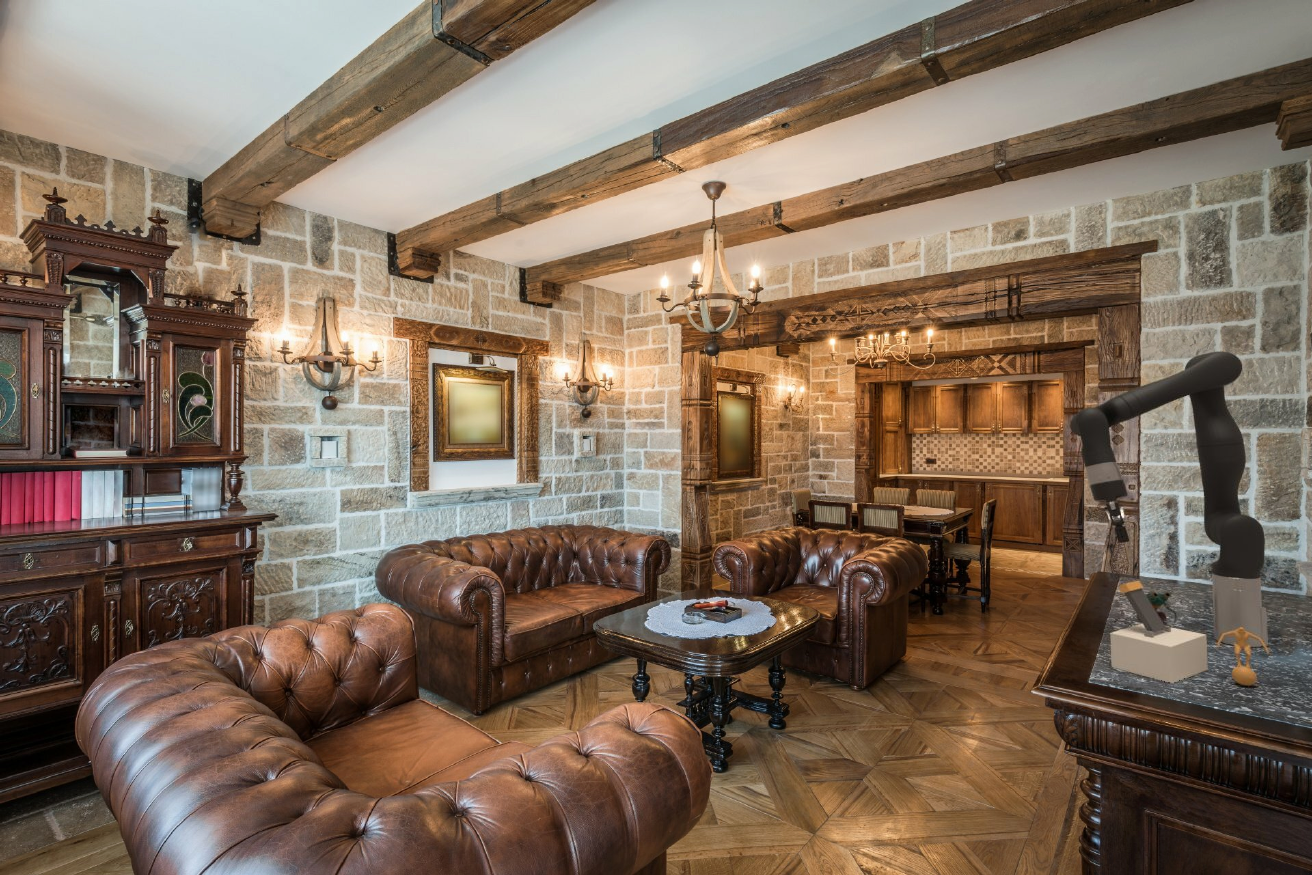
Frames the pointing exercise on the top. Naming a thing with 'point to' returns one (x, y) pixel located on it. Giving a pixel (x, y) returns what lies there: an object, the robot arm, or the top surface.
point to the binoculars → (1159, 604)
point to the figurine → (1245, 673)
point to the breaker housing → (1159, 652)
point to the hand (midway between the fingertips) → (1124, 542)
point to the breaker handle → (1142, 606)
